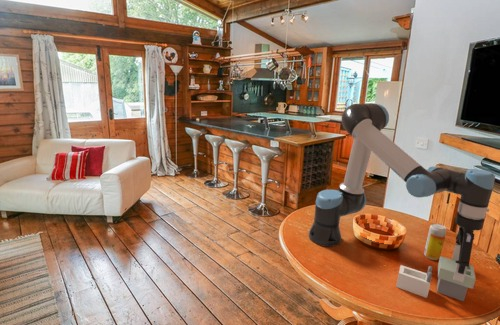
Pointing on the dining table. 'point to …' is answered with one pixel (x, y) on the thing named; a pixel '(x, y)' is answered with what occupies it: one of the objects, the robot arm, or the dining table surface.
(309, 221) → the dining table surface
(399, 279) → the white open box
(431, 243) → the yellow labelled bottle
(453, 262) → the grey block
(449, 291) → the block
